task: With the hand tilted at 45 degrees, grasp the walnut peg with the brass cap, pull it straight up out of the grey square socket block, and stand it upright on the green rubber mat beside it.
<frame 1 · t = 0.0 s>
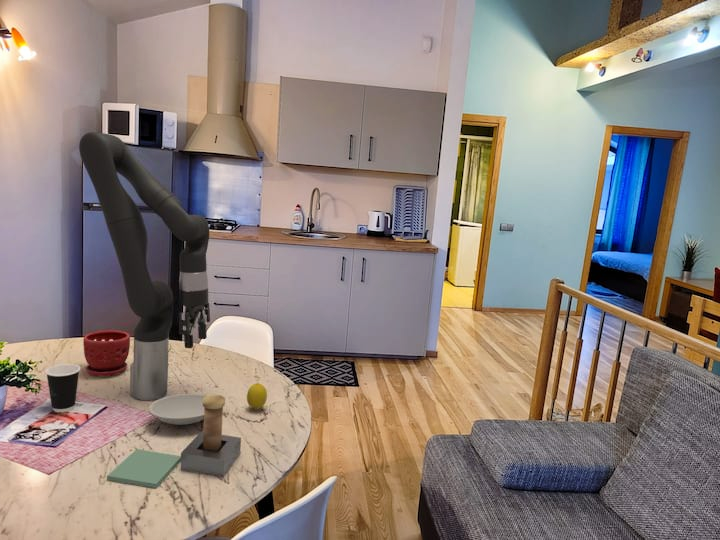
hand: (196, 343, 142), 17 cm above the table, tool pointing down, fingers open, 8 cm apart
dixie cup: (63, 409, 134), on the table
peg: (212, 430, 114), in the grey square socket block
dish: (184, 423, 132), on the table
mat: (145, 469, 110), on the table
lemon: (256, 410, 143), on the table
plant pot: (107, 371, 160), on the table
grey square socket block: (211, 461, 116), on the table
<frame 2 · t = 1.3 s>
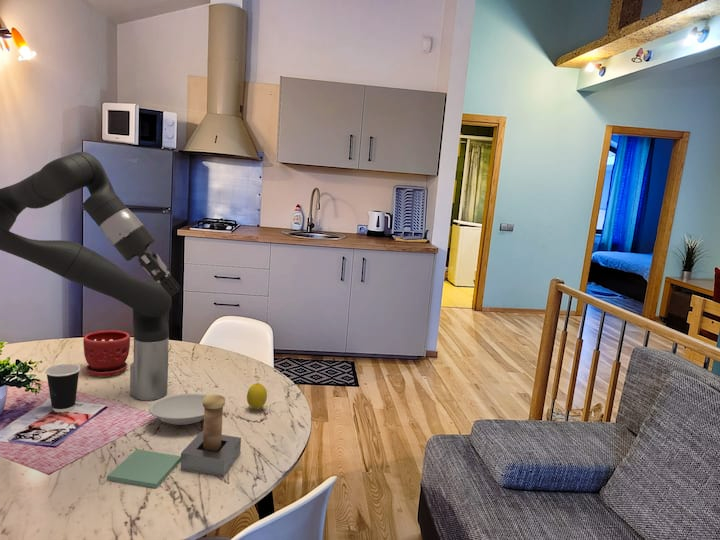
hand: (176, 292, 113), 38 cm above the table, tool tilted 40°, fingers open, 8 cm apart
nothing on the table moved.
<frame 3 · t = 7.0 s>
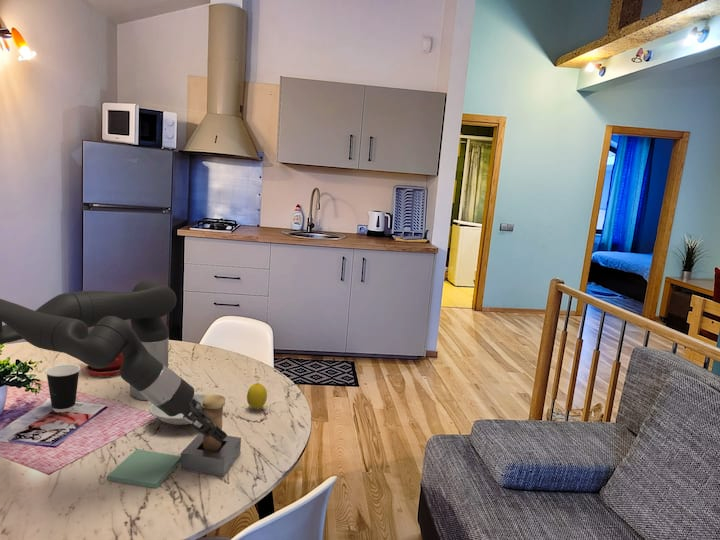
hand: (221, 433, 116), 7 cm above the table, tool tilted 45°, fingers closed on peg, 4 cm apart
peg: (212, 430, 114), in the grey square socket block, touching gripper
everything else where it was.
when the fingers open (8 cm above the table, at t = 13.6 s): peg stays where it is, resting on mat.
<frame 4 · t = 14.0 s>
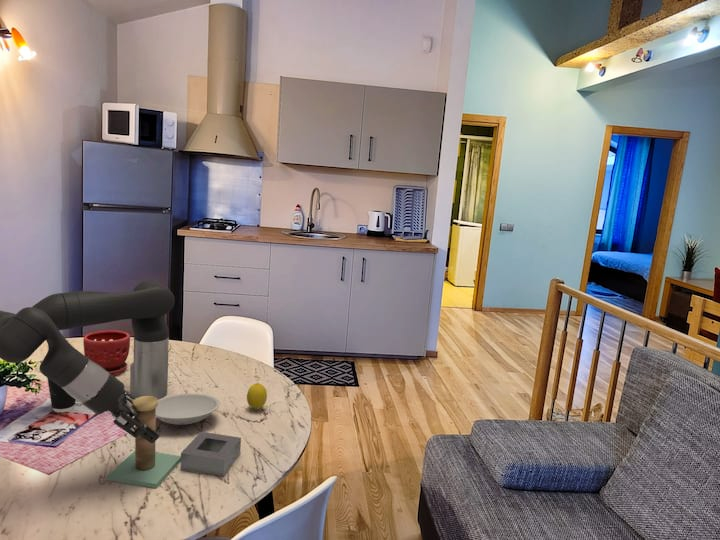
hand: (154, 430, 109), 9 cm above the table, tool tilted 45°, fingers open, 7 cm apart
peg: (145, 433, 109), on the mat, point 9 cm above the table
everything else where it was.
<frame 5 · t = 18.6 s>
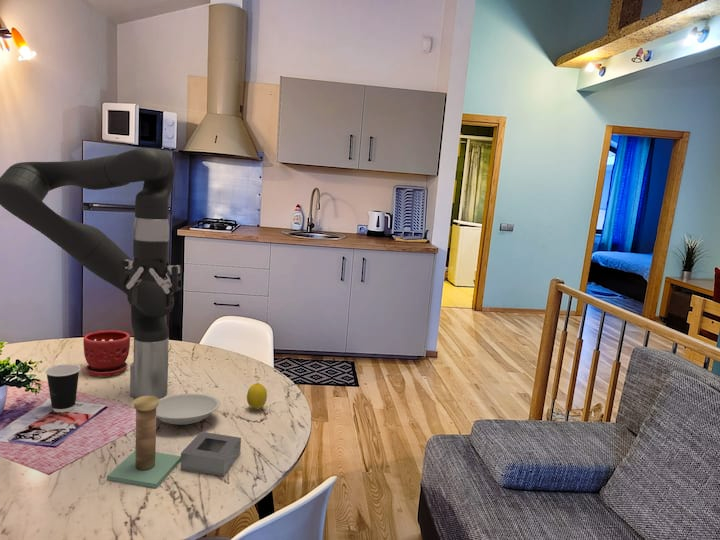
hand: (150, 306, 118), 33 cm above the table, tool pointing down, fingers open, 8 cm apart
nothing on the table moved.
at the end: peg inside the target area on the mat (0.1 cm from its centre), point 8.6 cm above the mat's base; peg tilted 0°; the gripper is holding nothing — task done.
